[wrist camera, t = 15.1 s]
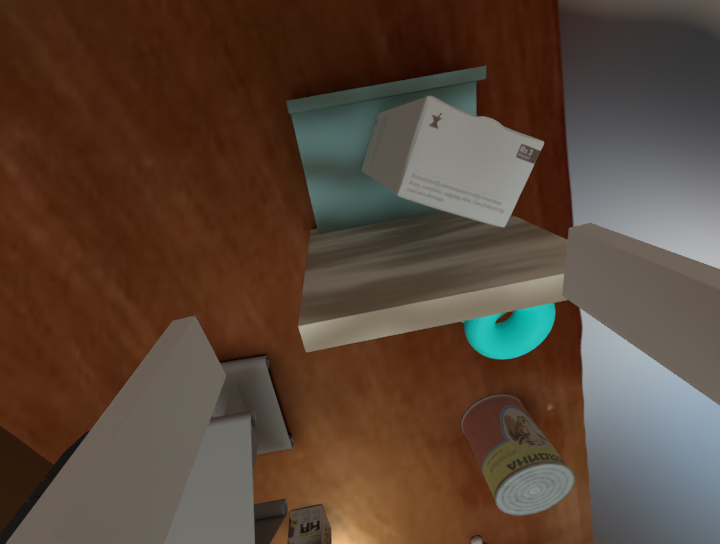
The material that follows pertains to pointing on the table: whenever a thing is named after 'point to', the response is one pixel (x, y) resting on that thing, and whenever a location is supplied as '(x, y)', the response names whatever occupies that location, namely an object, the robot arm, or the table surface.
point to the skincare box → (450, 159)
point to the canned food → (515, 456)
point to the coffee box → (309, 526)
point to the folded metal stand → (234, 464)
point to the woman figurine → (476, 540)
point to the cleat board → (403, 231)
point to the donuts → (510, 332)
